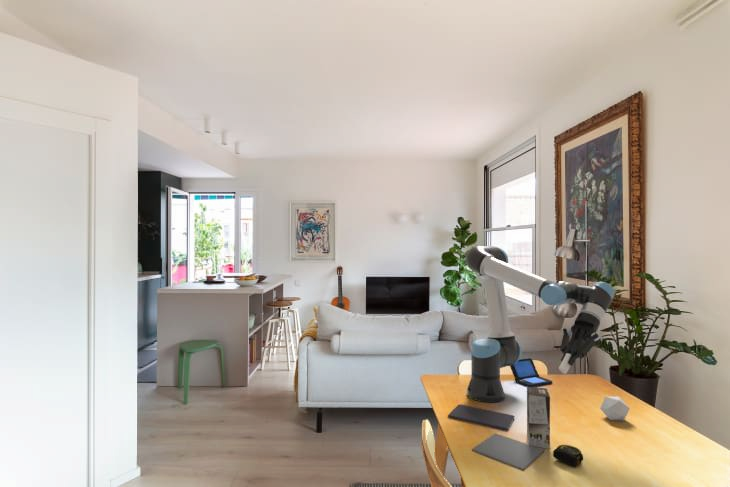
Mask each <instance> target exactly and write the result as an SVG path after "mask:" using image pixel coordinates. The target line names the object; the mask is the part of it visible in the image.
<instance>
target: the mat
mask: <svg viewBox="0 0 730 487" xmlns="http://www.w3.org/2000/svg"><path fill="white" fill-rule="evenodd" d="M471 451H472V452H475V453H477V454H479V455H482V456H485V457H487V458H490V459H492V460H495V461H497V462H500V463H503V464H504V465H508V466H511V467H513V468H516V469H518V470H520V471H523V472H524V471H525V470H526V469H527V468H529V466H530V465H532V463H533V462H535V461H536V460H537V459H538V458H539V457H540V456H541V455H543V453H545V449H544V448H540V447H534V446H531V445H529V443H525V442H522V441H520V440H517V439H513V438H511V437H507V436H505V435H501V434H498V433H494V434H492V435H490V436H489V437H487V438H486V439H484V440H483V441H481V442H480V443H479V444H477V445H475V446H474V447H473V448H471Z"/></svg>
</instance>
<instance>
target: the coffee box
mask: <svg viewBox="0 0 730 487" xmlns="http://www.w3.org/2000/svg"><path fill="white" fill-rule="evenodd" d="M550 431H551V396H550V393H549V392H548V388H545V387H538V386H536V387H527V386H526V436H527V444H529V445H531V446H534V447H537V448H540V449H546V450H549V449H550V448H551V447H550V446H551V444H550V442H551V432H550Z"/></svg>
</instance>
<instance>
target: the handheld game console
mask: <svg viewBox="0 0 730 487" xmlns="http://www.w3.org/2000/svg"><path fill="white" fill-rule="evenodd" d="M509 367H510V369H511V373H512V376H513V377H514V382H515V381H516V382H515V383H517V382H518V383H517V384H520V383H521V384H520V385H522V384H523V385H522V386H525V387H527V386H528V387H535V386H536V387H541V385H542V386H547V385H546V384H548V385H552V384H553V381H552V380H551V379H548V378H546V377H542V376H540V375H539V373H538V370H537V367H536V365H535V363H534V361H533V359H532V358H530V357H529V358H522V359H521V358H520V359H519V361H518V362H516V363H515V364H513V365H511V366H509Z"/></svg>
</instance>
